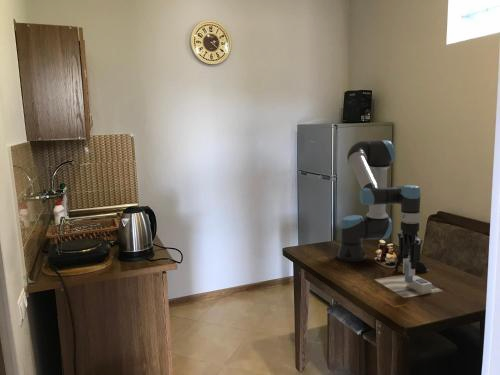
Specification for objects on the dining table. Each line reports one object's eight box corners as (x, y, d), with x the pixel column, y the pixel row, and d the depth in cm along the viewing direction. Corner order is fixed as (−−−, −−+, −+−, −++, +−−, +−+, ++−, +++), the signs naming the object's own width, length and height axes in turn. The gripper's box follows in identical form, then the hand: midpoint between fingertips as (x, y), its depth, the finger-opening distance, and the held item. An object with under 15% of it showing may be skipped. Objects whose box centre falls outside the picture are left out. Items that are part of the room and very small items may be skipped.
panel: (374, 280, 193) (374, 279, 193) (410, 274, 199) (410, 273, 198) (403, 299, 172) (403, 297, 172) (442, 292, 178) (443, 290, 178)
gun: (420, 284, 201) (431, 267, 199) (390, 269, 202) (400, 252, 200) (419, 282, 204) (429, 265, 201) (389, 267, 205) (399, 250, 203)
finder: (406, 285, 185) (407, 276, 184) (416, 283, 186) (416, 274, 185) (421, 293, 175) (422, 284, 175) (431, 292, 177) (431, 282, 176)
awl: (403, 280, 179) (403, 255, 177) (410, 279, 179) (410, 255, 178) (407, 283, 176) (407, 258, 174) (414, 282, 176) (414, 257, 175)
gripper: (390, 218, 180) (390, 269, 184) (415, 226, 165) (413, 281, 168) (405, 216, 182) (404, 267, 186) (430, 224, 167) (429, 279, 170)
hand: (408, 274), depth 177 cm, fingers closed on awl, 3 cm apart
